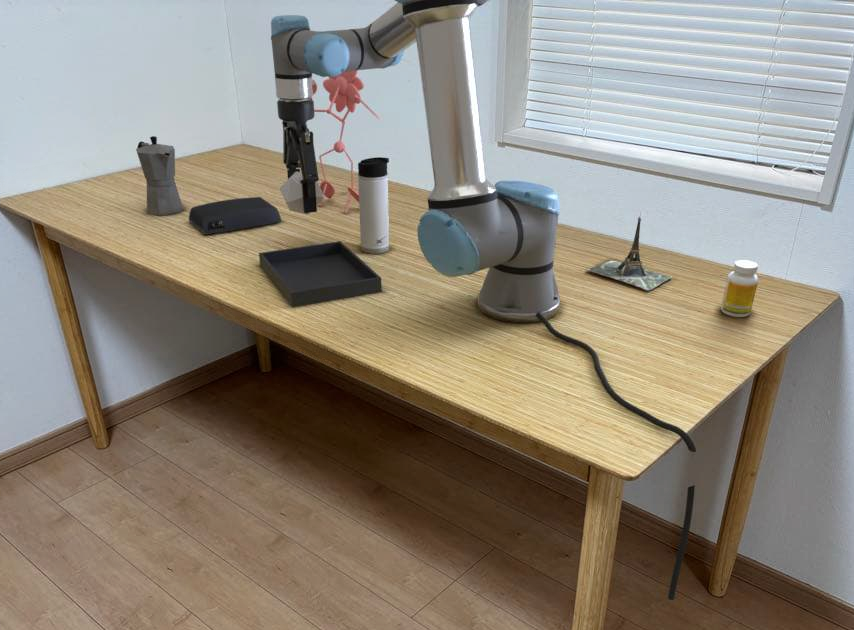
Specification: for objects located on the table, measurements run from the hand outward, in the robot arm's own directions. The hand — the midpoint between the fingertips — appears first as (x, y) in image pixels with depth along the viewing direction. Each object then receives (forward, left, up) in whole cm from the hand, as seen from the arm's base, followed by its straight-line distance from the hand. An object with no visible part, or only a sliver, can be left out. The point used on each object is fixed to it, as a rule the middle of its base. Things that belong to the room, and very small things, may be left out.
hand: (302, 205), depth 176 cm
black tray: (-21, +4, -9) cm, 23 cm away
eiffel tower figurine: (-46, -55, -9) cm, 72 cm away
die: (0, 0, -1) cm, 1 cm away
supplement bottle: (-69, -62, -9) cm, 93 cm away
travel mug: (-10, -13, -9) cm, 19 cm away
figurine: (+24, -20, -9) cm, 32 cm away
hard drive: (+21, +11, -9) cm, 25 cm away
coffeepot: (+39, +25, -9) cm, 47 cm away
